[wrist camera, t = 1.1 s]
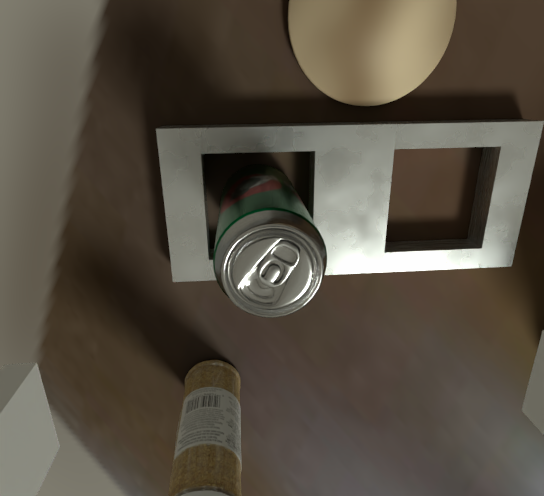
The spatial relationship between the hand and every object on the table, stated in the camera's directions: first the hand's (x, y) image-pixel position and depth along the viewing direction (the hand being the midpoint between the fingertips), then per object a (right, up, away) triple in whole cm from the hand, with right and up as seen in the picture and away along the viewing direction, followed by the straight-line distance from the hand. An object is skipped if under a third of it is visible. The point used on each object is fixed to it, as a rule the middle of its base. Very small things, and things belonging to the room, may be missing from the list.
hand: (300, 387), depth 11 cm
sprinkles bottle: (-6, -7, +23) cm, 24 cm away
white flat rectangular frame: (+4, +7, +18) cm, 20 cm away
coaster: (+5, +17, +14) cm, 23 cm away
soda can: (-2, +7, +17) cm, 19 cm away
